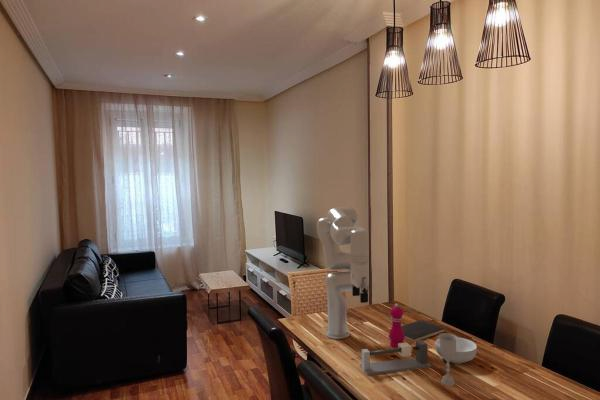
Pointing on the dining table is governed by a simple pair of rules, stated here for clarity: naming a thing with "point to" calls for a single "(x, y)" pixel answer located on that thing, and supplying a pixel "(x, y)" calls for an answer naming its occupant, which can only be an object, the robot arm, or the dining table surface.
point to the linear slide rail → (395, 364)
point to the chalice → (447, 354)
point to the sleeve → (404, 349)
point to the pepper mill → (396, 326)
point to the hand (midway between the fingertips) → (360, 298)
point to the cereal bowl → (460, 350)
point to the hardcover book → (420, 330)
